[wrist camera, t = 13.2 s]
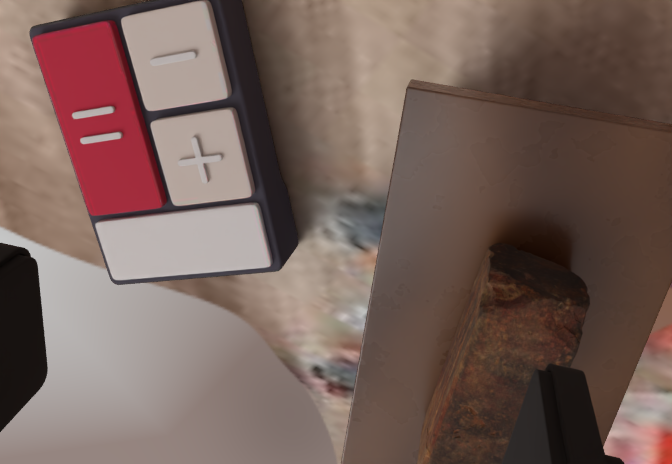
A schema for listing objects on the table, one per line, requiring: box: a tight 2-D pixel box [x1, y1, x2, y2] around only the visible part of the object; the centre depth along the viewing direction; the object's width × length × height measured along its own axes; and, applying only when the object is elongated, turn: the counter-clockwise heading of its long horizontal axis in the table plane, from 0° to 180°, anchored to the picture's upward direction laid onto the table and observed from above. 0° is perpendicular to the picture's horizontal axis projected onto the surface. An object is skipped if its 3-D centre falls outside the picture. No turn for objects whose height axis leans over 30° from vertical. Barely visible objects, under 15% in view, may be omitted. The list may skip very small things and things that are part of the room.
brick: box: [417, 243, 590, 464], centre depth 27 cm, size 11×4×5 cm, turn 167°
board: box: [341, 80, 672, 464], centre depth 30 cm, size 12×22×2 cm, turn 172°
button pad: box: [30, 0, 298, 285], centre depth 36 cm, size 11×4×15 cm
